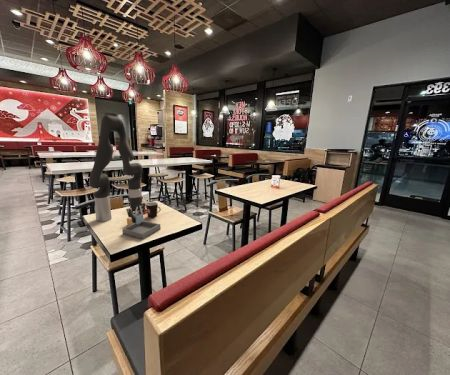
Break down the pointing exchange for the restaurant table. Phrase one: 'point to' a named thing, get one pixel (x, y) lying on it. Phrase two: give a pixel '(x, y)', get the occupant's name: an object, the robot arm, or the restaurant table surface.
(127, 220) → the orange block
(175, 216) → the restaurant table surface
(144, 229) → the tray
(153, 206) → the coffee mug
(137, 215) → the blue block
